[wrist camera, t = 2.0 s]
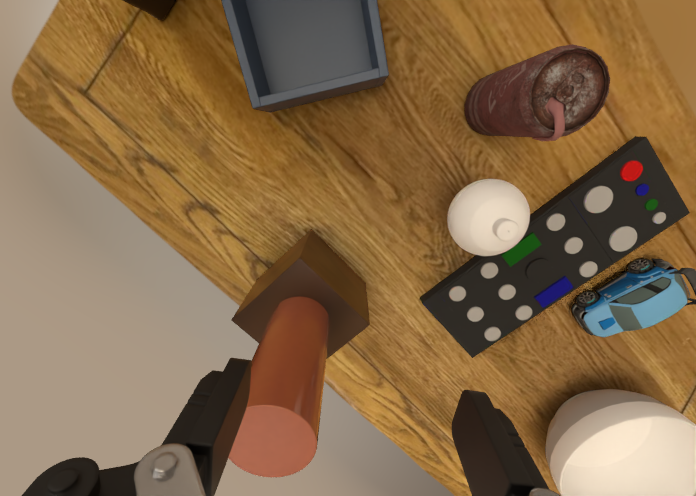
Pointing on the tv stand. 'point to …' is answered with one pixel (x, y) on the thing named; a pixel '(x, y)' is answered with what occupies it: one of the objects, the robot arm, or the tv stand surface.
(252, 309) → the stand
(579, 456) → the bowl
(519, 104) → the can
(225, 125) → the tv stand surface
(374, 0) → the tub
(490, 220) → the spinning top
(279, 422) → the orange cylinder rod
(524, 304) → the remote control
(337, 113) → the tv stand surface
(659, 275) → the toy car
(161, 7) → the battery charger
